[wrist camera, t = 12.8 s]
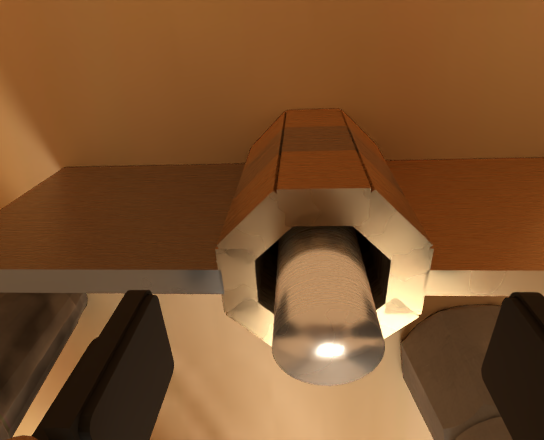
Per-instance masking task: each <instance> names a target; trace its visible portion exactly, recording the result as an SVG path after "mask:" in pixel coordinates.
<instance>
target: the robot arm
mask: <svg viewBox="0 0 544 440" xmlns="http://www.w3.org/2000/svg"><path fill="white" fill-rule="evenodd" d="M173 369H174V361H173V356H172V352H171V348H170V344H169V340H168V336H167V332H166V328H165V324H164V320H163V316H162V312H161V308H160V304H159V299H158V297H157V296H156V295H152V292H151V291H150V290H128V291H127V292H126V293H125V295H124V297H123V298H122V300H121V302H120V303H119V305H118V306H117V308H116V310H115V311H114V313H113V314H112V316H111V318H110V319H109V321H108V322H107V324H106V326H105V327H104V329H103V331H102V332H101V334H100V335H99V337H97V338H96V339H94V340H93V341H92V342H91V343H90V345H89V346H88V348H87V349H86V351H85V353H84V354H83V356H82V357H81V359H80V360H79V362H78V364H77V365H76V367H75V368H74V370H73V372H72V373H71V375H70V376H69V378H68V379H67V381H66V383H65V384H64V386H63V387H62V389H61V391H60V392H59V394H58V395H57V397H56V398H55V400H54V402H53V403H52V405H51V406H50V408H49V409H48V411H47V413H46V414H45V416H44V417H43V419H42V421H41V422H40V424H39V425H38V427H37V428H36V430H35V432H34V433H33V435H32V436H25V435H22V436H17V437H12V438H9V439H7V440H150V437H151V434H152V431H153V428H154V425H155V423H156V420H157V417H158V414H159V411H160V408H161V405H162V403H163V400H164V397H165V394H166V391H167V388H168V385H169V383H170V380H171V377H172V374H173ZM481 374H482V379H483V381H484V383H485V385H486V387H487V389H488V391H489V393H490V395H491V397H492V399H493V401H494V403H495V405H496V407H497V409H498V411H499V413H500V415H501V417H502V419H503V421H504V423H505V425H506V427H507V429H508V431H509V433H510V435H511V437H512V439H513V440H544V296H543V295H542V294H541V293H538V292H513V293H512V294H510V296H509V298H505V299H504V300H503V302H502V305H501V309H500V312H499V315H498V318H497V321H496V324H495V327H494V330H493V333H492V336H491V339H490V342H489V345H488V349H487V352H486V355H485V358H484V361H483V364H482V368H481Z"/></svg>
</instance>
